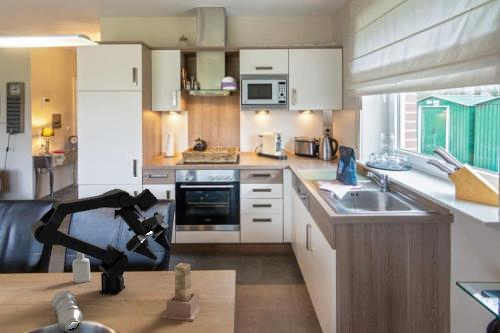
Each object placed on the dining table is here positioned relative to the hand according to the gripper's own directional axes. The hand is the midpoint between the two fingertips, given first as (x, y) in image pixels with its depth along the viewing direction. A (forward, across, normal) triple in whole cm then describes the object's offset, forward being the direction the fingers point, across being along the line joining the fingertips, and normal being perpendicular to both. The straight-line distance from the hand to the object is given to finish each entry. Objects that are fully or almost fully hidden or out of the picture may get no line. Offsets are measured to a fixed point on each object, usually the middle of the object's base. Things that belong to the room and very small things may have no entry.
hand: (163, 254), depth 138 cm
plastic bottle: (-10, -22, +23) cm, 33 cm away
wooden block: (+18, -11, -1) cm, 21 cm away
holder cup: (+18, -11, 0) cm, 21 cm away
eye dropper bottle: (-14, -3, +32) cm, 35 cm away
